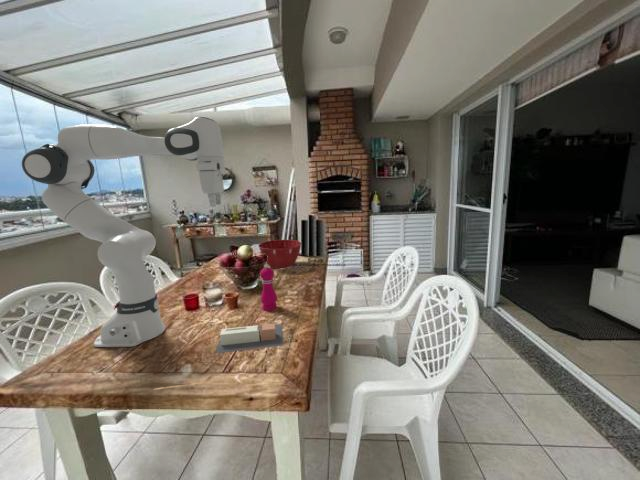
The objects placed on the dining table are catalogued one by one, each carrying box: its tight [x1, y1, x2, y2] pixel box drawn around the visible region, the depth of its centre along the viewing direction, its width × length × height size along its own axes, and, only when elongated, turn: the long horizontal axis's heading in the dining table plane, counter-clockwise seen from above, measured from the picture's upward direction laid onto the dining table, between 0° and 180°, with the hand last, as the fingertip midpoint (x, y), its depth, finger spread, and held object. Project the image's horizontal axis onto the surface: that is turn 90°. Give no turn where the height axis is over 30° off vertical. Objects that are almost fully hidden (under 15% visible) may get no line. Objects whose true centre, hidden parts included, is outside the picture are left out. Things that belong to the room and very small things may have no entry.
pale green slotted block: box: [219, 324, 261, 346], centre depth 100 cm, size 13×4×4 cm, turn 99°
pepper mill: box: [259, 264, 278, 312], centre depth 125 cm, size 7×7×20 cm
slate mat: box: [215, 324, 284, 354], centre depth 102 cm, size 22×15×1 cm
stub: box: [260, 323, 276, 341], centre depth 102 cm, size 5×4×4 cm
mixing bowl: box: [258, 239, 302, 270], centre depth 191 cm, size 28×28×16 cm
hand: (215, 205), depth 104 cm, fingers open, 8 cm apart
